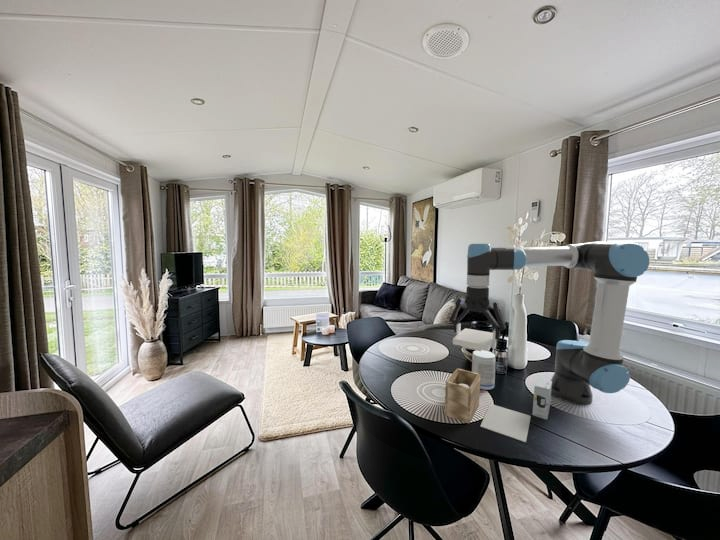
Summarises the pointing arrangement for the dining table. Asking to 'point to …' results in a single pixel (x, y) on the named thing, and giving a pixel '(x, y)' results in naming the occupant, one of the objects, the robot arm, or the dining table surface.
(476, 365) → the supplement tub
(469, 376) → the box
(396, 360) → the dining table surface
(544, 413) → the ink box
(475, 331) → the lid
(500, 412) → the mat
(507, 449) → the dining table surface
